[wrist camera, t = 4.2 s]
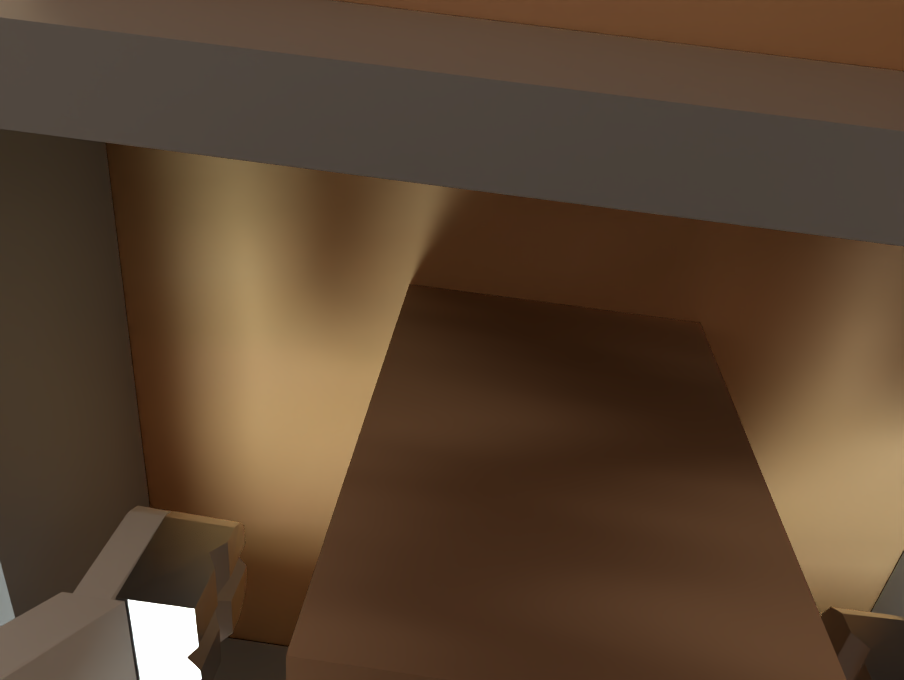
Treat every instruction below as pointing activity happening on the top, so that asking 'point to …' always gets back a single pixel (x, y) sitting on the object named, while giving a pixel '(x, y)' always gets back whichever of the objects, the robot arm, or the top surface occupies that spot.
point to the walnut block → (554, 511)
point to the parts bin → (365, 154)
